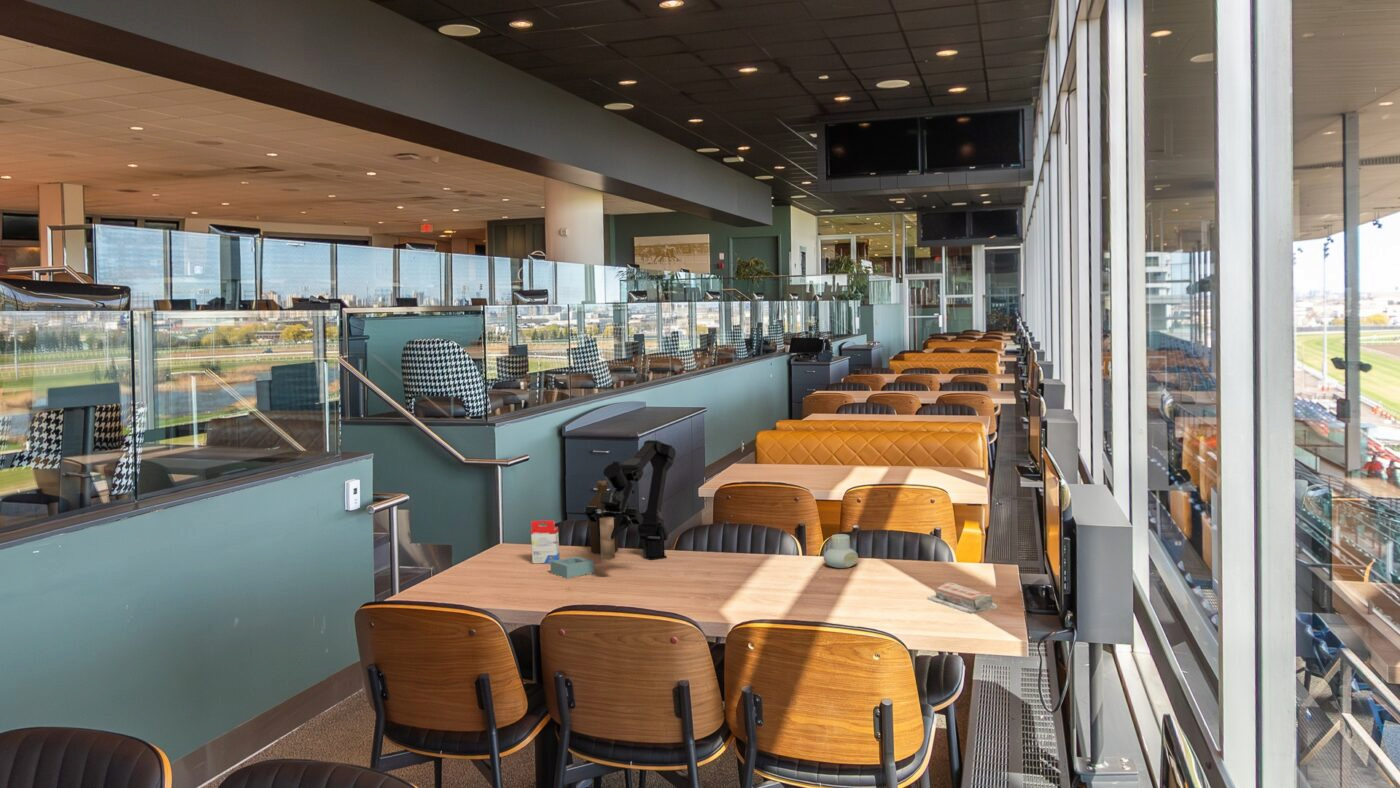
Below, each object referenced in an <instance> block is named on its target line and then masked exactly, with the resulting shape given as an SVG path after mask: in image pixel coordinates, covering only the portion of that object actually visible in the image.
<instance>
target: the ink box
mask: <svg viewBox="0 0 1400 788" xmlns="http://www.w3.org/2000/svg"><path fill="white" fill-rule="evenodd" d="M555 523H556V522H555V520H531V522H530V525H531V527H530V537H531V560H532V564H533V563H551V561H554V560H560V559H561V558H560V541H559V527H558V526H556V525H555ZM542 524H545V525H542Z"/></svg>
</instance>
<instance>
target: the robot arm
mask: <svg viewBox="0 0 1400 788" xmlns="http://www.w3.org/2000/svg"><path fill="white" fill-rule="evenodd" d="M675 449H676V448H674V447H673V445H670V444H667V443H663V442H661V441H660V440H658V439H652V440H651V439H647V440H645V441H644V442H643V445H642V446H641V448H640V449H639V450H638V451H637V452H636V453H635V454H634V455H633V457H632V458H631V459H628V460H625V461H623V462H622V463H620V461H612V462H611V464H609V465H607V466H606V467H605V468H604V469H603V475H604V477H605V479H606V481H607V482H608V484H609V485H610V487H611V488H613V491H612V492H608V491H607V492H601V494H600V500H599V503H602V504H604V505H603V507H604V509H606V511H603V510H601V509H599V508H598V506H585V508H584V510H583V513H584V515H585V517H586V518H587V520H588V522H589V521H590V522H593V523H597V536H598V538H600V518H602V517H613V518H617V520H616V524H615V526H614V529H613V531H612V534H611V538H612V539H614V538H615V537H616V536H617V535H618V536H619V534H620V533H622V532H623V531H625V530H626V529H627V528H629V527H630V528H631V526H632V525H634V526H637V531H638V532H637V533H638V536H639V540H640V541H643V544H642V557H643V558H645V559H647V560H650V561H651V560H657V559H665V558H667V555H666V553H665V552H666V551H665V541H668V539H669V531H668V529H667V527H666V526H665V519H664V517H663V515H662V507H663V506H662V505H663V499H664V493H665V492H664V491H665V486H666V480H667V473H668V471H669V470H670V468H671V467H672V466H673V465H674V461H675V458H676V453H677V452H676V450H675ZM649 462H650V464H651V465H650V466H651V467H652V474H651V481H650V487H649V493H648V498H647V504H646V505H647V506H646V509H645V510H644V511H643V512H641V511H640V510H639V509H638V508H636V507H630V503H629V501H630V498H631V495H632V494H635V493H636V490H635V488H634V487H635V486H634V485H633V482H635V483H636V482H637V483H638V482H639V481H640V480H641V479H642V477H643V475H644V468H645V467H646V466H647V464H649ZM631 523H632V524H631Z"/></svg>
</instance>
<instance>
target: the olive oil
mask: <svg viewBox="0 0 1400 788" xmlns="http://www.w3.org/2000/svg"><path fill="white" fill-rule="evenodd" d="M607 482H608V481H607V480H603V479H602V480H597V486H596V487H597V492H596V493H595V495H594V496H593V497H592V498H591V499H590V501H589V502H588V506H598V508H599V509H601V510H603V511H606V509H604V507H603V505H604V504H602V503H599V500H600V494H601V492H608V484H607ZM616 520H617V518H614V526H615V524H616ZM588 526H589V538H590V552H591V553H592V552H593V553H592V554H595V553H598V554H597V555H601V545H600V538H598V536H597V523H593V522H590V521H589V520H588ZM618 536H619V534H618V535H617V536H616V537H615V538H614V541H615V553H616V551H617V550H619V542H618V541H619V540H618V539H619V537H618ZM617 552H618V551H617Z"/></svg>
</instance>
